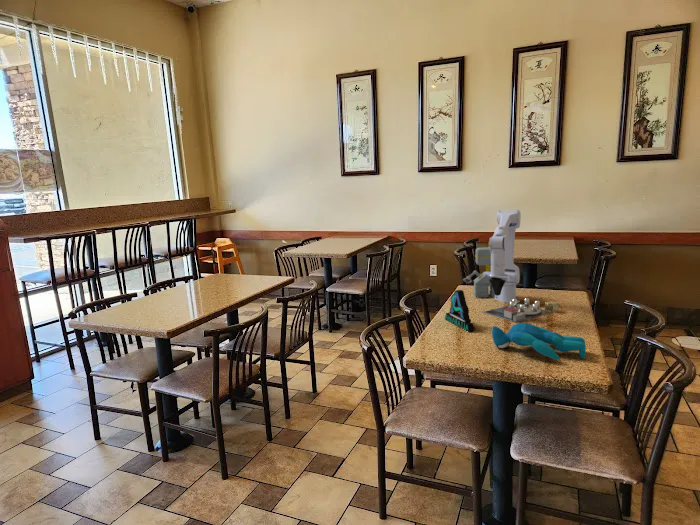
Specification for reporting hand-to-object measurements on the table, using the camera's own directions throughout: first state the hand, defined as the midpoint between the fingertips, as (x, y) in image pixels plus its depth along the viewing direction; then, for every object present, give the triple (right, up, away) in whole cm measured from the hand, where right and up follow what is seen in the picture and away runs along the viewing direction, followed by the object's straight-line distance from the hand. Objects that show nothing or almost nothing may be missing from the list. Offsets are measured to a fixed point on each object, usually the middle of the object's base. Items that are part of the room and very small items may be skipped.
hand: (497, 295), depth 197 cm
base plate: (+10, -9, +3) cm, 13 cm away
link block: (+26, -8, +5) cm, 27 cm away
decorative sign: (-19, -12, -8) cm, 24 cm away
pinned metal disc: (+13, -8, +4) cm, 16 cm away
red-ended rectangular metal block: (+4, -9, -5) cm, 11 cm away
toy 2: (+1, -17, -39) cm, 43 cm away
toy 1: (+7, -3, +35) cm, 36 cm away
